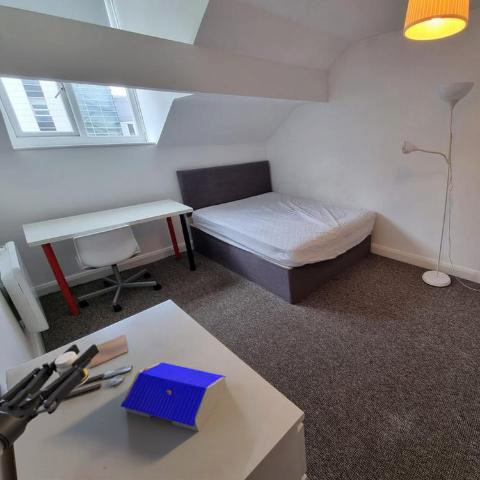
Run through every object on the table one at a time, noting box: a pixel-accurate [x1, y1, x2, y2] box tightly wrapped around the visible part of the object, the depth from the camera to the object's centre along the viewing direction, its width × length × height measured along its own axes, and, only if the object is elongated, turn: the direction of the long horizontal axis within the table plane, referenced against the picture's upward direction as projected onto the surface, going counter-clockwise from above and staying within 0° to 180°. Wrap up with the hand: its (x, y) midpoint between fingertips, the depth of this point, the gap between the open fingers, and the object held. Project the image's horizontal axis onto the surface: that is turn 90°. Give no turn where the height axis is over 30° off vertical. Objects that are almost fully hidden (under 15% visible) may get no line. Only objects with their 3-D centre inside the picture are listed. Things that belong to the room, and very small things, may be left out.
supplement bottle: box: [54, 352, 90, 389], centre depth 69 cm, size 5×5×8 cm
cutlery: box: [62, 364, 133, 401], centre depth 78 cm, size 17×6×1 cm, turn 113°
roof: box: [120, 362, 228, 432], centre depth 72 cm, size 22×14×7 cm, turn 76°
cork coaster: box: [88, 334, 129, 369], centre depth 90 cm, size 10×10×1 cm
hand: (86, 348), depth 73 cm, fingers closed on supplement bottle, 5 cm apart
